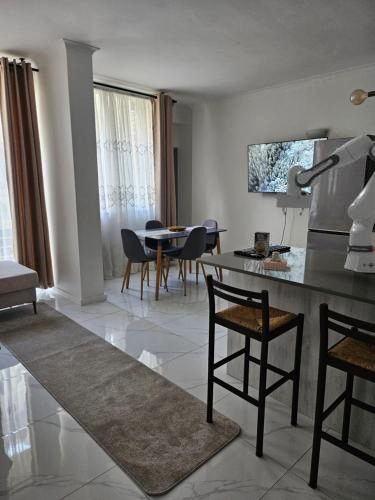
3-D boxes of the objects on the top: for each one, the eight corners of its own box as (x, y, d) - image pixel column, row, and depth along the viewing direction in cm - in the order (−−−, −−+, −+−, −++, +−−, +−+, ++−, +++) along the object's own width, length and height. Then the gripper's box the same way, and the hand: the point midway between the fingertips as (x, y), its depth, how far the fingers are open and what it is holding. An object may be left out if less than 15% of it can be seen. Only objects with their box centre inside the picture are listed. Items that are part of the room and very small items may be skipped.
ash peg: (279, 266, 204) (279, 252, 202) (278, 268, 200) (279, 253, 198) (272, 266, 205) (273, 251, 203) (271, 267, 201) (272, 252, 200)
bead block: (286, 265, 206) (286, 259, 205) (284, 270, 195) (285, 263, 194) (266, 264, 210) (266, 257, 209) (263, 268, 199) (263, 262, 198)
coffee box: (253, 255, 235) (254, 232, 232) (256, 254, 240) (256, 231, 237) (266, 257, 231) (267, 233, 228) (269, 255, 236) (270, 232, 233)
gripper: (276, 192, 212) (275, 215, 215) (311, 193, 205) (309, 216, 207) (277, 192, 218) (276, 214, 220) (311, 192, 211) (310, 215, 213)
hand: (292, 215), depth 214 cm, fingers open, 8 cm apart
